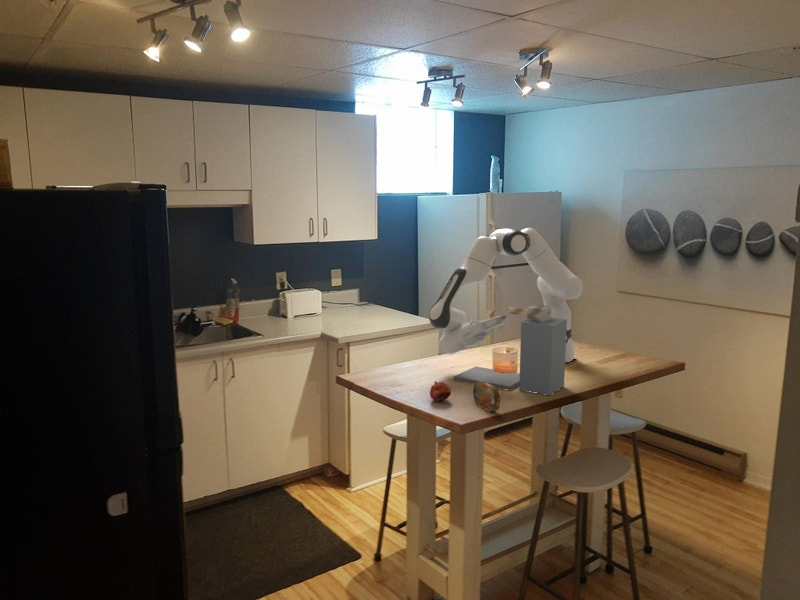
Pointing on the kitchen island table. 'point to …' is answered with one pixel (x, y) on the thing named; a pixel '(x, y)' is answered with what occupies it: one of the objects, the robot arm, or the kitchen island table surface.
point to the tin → (486, 396)
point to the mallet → (532, 312)
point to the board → (489, 377)
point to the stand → (542, 355)
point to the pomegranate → (440, 391)
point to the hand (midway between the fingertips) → (501, 318)
